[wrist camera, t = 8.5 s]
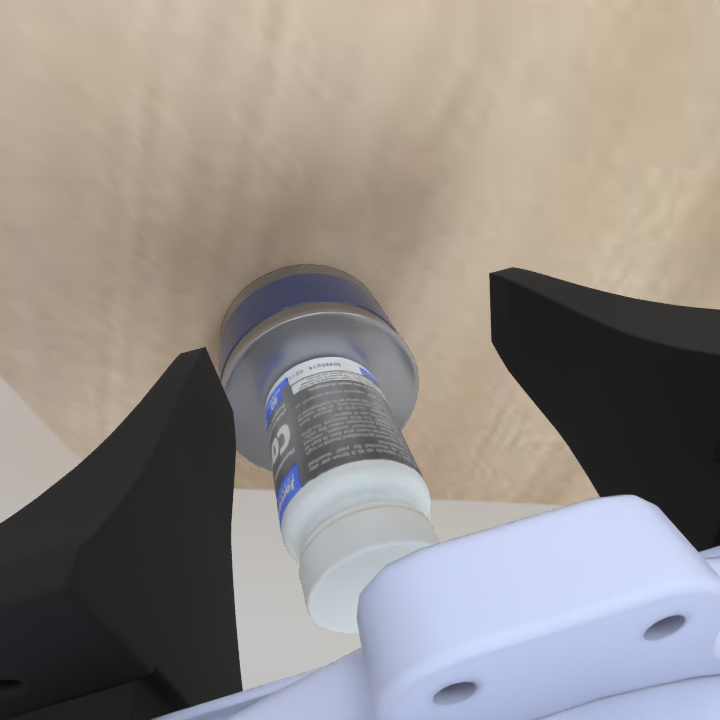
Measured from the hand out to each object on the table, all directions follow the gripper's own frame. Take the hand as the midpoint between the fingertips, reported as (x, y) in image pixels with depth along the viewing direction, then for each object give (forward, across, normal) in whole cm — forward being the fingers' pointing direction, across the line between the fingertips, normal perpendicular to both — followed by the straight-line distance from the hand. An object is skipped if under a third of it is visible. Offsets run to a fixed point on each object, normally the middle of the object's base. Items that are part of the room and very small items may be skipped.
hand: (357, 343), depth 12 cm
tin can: (+10, +2, +6) cm, 12 cm away
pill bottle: (+6, +2, +6) cm, 8 cm away
